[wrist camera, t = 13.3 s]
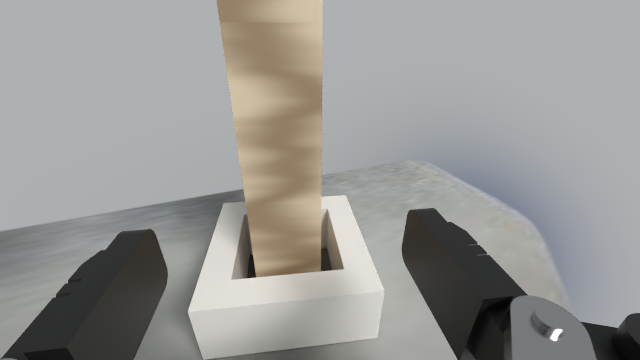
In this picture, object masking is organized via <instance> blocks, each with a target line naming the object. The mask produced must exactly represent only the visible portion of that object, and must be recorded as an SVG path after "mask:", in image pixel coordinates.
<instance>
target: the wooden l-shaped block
mask: <svg viewBox="0 0 640 360" xmlns="http://www.w3.org/2000/svg"><path fill="white" fill-rule="evenodd" d="M217 6H218V13H219V20H220V27H221V34H222V41H223V48H224V55H225V61H226V69H227V76H228V83H229V90H230V96H231V104H232V111H233V118H234V125H235V132H236V139H237V146H238V153H239V160H240V167H241V174H242V181H243V188H244V195H245V202H246V209H247V216H248V223H249V230H250V237H251V244H252V251H253V258H254V265H255V272H256V277H267V276H277V275H288V274H299V273H309V272H320V271H321V183H322V172H321V171H322V27H323V24H322V22H323V21H322V20H323V18H322V17H323V0H217Z"/></svg>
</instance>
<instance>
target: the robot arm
mask: <svg viewBox="0 0 640 360" xmlns="http://www.w3.org/2000/svg"><path fill="white" fill-rule="evenodd" d="M402 256H403V260H404V263H405V265H406V267H407V269H408V271H409V272H410V274H411V276H412V278H413V280H414V281H415V283H416V285H417V287H418V289H419V290H420V292H421V294H422V296H423V298H424V299H425V301H426V303H427V305H428V307H429V309H430V310H431V312H432V314H433V316H434V318H435V319H436V321H437V323H438V325H439V327H440V328H441V330H442V332H443V334H444V336H445V337H446V339H447V341H448V343H449V345H450V346H451V348H452V350H453V352H454V354H455V355H456V357H457V359H458V360H640V313H635V314H631V315H629V316H627V318H625V320H624V321H623V322H622V324H621V325H620V326H619V328H614V327H608V326H603V325H596V324H590V323H585V322H580V321H579V320H578V319H577V318H576V317H575V316H573V315H572V314H571V313H570V312H568V311H567V310H566V309H564V308H563V307H561V306H559V305H557V304H555V303H553V302H551V301H549V300H546V299H544V298H540V297H536V296H528V295H527V294H526V293H525V292H524V291H523V290H522V289H521V288H520V287H519V286H518V285H517V284H516V283H515V281H514V280H513V279H512V278H511V277H510V276H509V275H508V274H507V273H506V272H505V271H504V270H503V269H502V268H501V267H500V266H499V265H498V264H497V263H496V262H495V261H494V260H493V259H492V257H491V256H490V255H487V252H486V251H485V250H484V249H483V248H482V247H481V246H480V245H478V244H477V242H476V241H475V240H474V239H473V238H472V237H471V236H470V235H469V234H468V232H467V231H465V230H463V229H462V228H460V227H459V226H457V225H455V224H454V223H452V222H447V221H446V220H445V219H444V218H443V217H442V216H441V215H440V214H439V213H438V211H437V210H436V209H434V208H428V209H415V210H410V211H409V212H408V215H407V220H406V226H405V231H404V237H403V243H402ZM167 277H168V272H167V266H166V263H165V260H164V258H163V255H162V252H161V249H160V246H159V243H158V240H157V237H156V234H155V233H154V231H153V230H151V229H147V230H134V231H123V232H120V233H119V234H118V235H117V236H116V238H115V239H114V240H113V241H112V243H111V244H110V245H109V246H108V248H107V249H106V250H102V251H100V252H98V253H97V254H96V255H94V256H93V257H91V258H90V259H89V260H87V261H86V262H84V263H83V264H82V265H81V266H80V267H79V268H78V269H77V271H76V272H75V273H74V274H73V275H72V276H71V278H70V279H69V280H68V284H65V285H64V286H63V287H62V288H61V289H60V290H59V292H58V293H57V294H56V298H53V299H52V300H51V301H50V302H49V303H48V304H47V306H46V307H45V308H44V309H43V310H42V311H41V313H40V314H39V315H38V316H37V317H36V318H35V320H34V321H33V322H32V323H31V324H30V325H29V327H28V328H27V329H26V330H25V331H24V332H23V334H22V335H21V336H20V337H19V338H18V339H17V341H16V342H15V343H14V344H13V345H12V346H11V348H10V349H9V350H8V351H7V352H6V353H5V355H4V356H3V357H2V358H1V359H0V360H133V359H134V357H135V355H136V353H137V351H138V348H139V346H140V344H141V342H142V339H143V337H144V335H145V333H146V330H147V328H148V326H149V324H150V321H151V319H152V317H153V315H154V312H155V310H156V308H157V306H158V303H159V301H160V299H161V297H162V294H163V292H164V290H165V288H166V284H167Z"/></svg>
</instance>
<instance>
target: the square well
mask: <svg viewBox="0 0 640 360" xmlns="http://www.w3.org/2000/svg"><path fill="white" fill-rule="evenodd" d="M321 248H327V251H328V255H329V260H330V264H331V269H332V270H331V271H320V272H309V273H299V274H288V275H277V276H267V277H256V278H247V273H248V265H249V258H250V254H253V251H252V244H251V237H250V230H249V223H248V216H247V209H246V202H232V203H223V206H222V209H221V212H220V215H219V219H218V222H217V225H216V228H215V231H214V234H213V237H212V240H211V243H210V246H209V249H208V252H207V255H206V258H205V261H204V264H203V267H202V270H201V273H200V276H199V279H198V282H197V285H196V288H195V291H194V294H193V297H192V300H191V303H190V306H189V309H188V314H189V318H190V321H191V324H192V327H193V330H194V333H195V336H196V339H197V342H198V345H199V348H200V351H201V354H202V357H203V360H205V359H213V358H221V357H229V356H237V355H245V354H253V353H261V352H269V351H277V350H285V349H293V348H301V347H309V346H317V345H325V344H334V343H342V342H350V341H358V340H366V339H374V338H377V336H378V330H379V323H380V317H381V311H382V304H383V298H384V292H385V291H384V289H383V286H382V284H381V281H380V279H379V276H378V274H377V271H376V269H375V266H374V264H373V262H372V259H371V257H370V254H369V252H368V249H367V247H366V244H365V242H364V239H363V237H362V235H361V232H360V230H359V227H358V225H357V222H356V220H355V217H354V215H353V212H352V210H351V208H350V205H349V203H348V200H347V198H346V195H343V196H327V197H321Z"/></svg>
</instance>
